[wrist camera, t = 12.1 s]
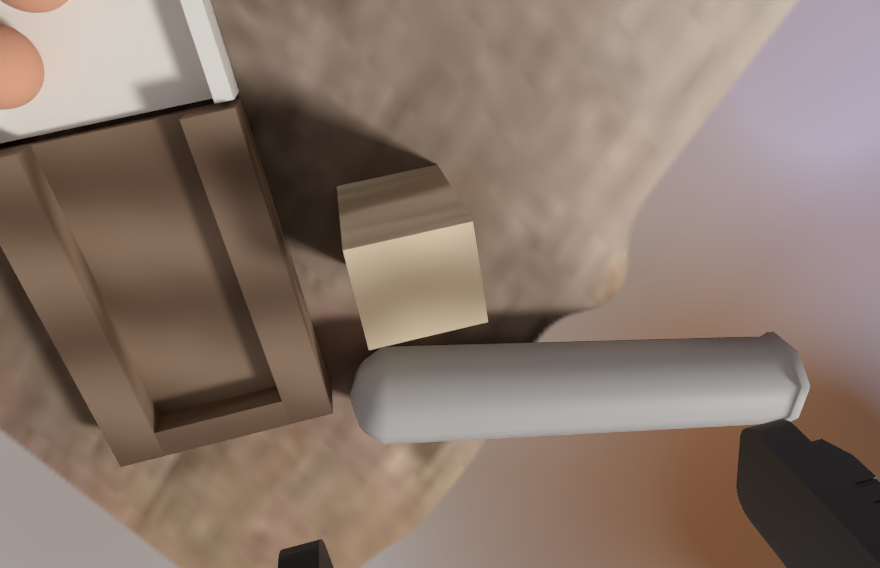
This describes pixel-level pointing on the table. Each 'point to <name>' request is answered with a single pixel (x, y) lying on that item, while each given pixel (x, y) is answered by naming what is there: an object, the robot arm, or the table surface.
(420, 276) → the block
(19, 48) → the ball
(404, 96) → the table surface
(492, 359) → the tube
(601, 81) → the table surface
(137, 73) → the tray
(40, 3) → the ball
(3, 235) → the slot board
